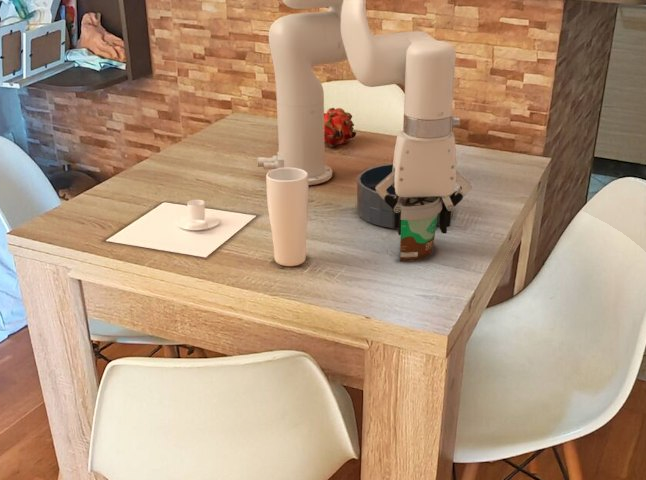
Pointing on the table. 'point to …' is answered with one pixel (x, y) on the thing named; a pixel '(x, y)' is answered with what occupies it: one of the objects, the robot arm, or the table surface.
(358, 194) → the bowl
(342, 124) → the dragon fruit
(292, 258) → the drinking glass
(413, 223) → the food container
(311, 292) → the table surface
